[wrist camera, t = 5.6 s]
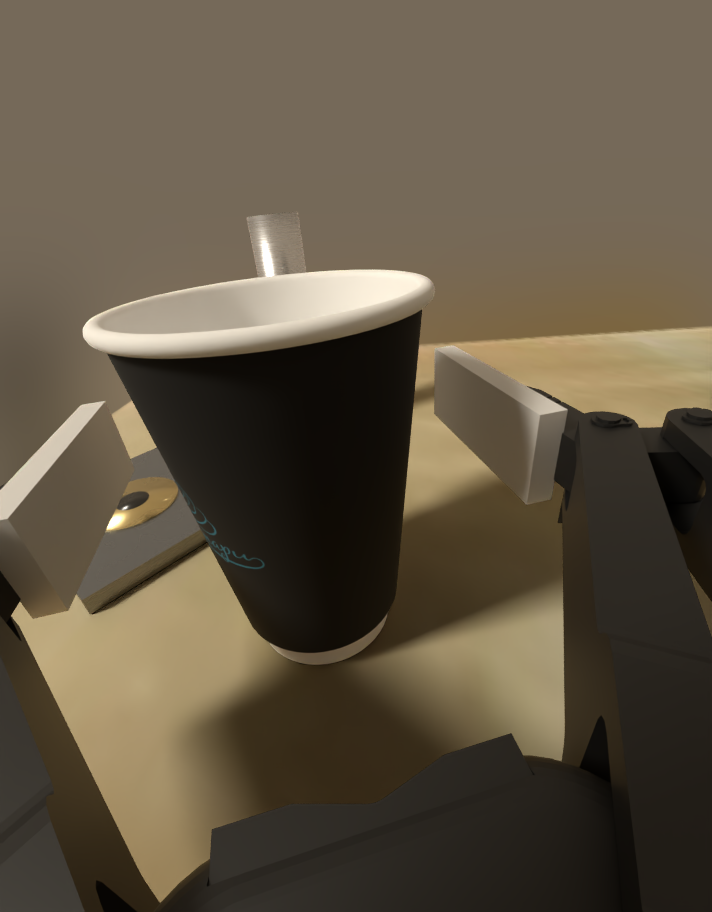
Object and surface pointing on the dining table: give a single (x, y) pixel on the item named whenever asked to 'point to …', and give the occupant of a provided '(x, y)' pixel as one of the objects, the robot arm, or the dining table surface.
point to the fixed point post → (277, 244)
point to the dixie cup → (285, 437)
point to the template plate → (141, 534)
